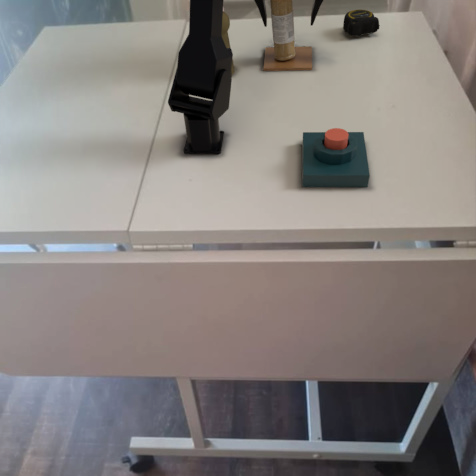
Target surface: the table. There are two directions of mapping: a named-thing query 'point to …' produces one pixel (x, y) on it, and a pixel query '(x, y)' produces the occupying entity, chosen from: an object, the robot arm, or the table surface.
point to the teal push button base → (334, 162)
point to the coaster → (298, 62)
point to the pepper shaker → (226, 35)
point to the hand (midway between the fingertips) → (288, 25)
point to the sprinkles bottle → (283, 29)
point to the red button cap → (336, 139)
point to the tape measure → (360, 23)
